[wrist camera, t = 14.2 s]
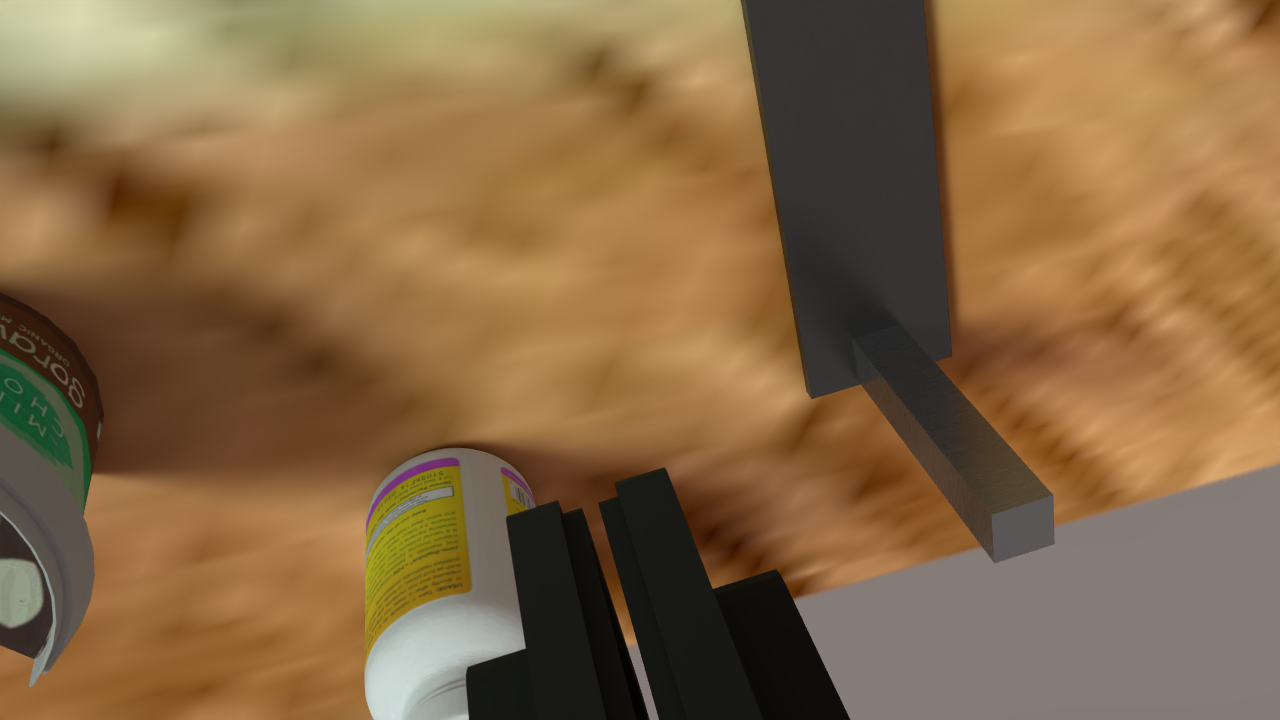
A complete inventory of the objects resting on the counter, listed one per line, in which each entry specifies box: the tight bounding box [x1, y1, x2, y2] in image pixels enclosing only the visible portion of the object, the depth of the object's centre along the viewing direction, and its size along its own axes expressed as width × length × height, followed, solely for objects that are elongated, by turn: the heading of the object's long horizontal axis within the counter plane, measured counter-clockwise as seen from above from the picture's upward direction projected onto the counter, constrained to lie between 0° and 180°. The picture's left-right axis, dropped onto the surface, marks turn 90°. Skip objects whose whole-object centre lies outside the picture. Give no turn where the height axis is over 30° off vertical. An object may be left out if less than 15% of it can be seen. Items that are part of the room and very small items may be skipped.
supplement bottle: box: [365, 448, 536, 720], centre depth 38 cm, size 7×7×13 cm
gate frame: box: [741, 0, 1054, 563], centre depth 32 cm, size 28×6×12 cm, turn 13°
